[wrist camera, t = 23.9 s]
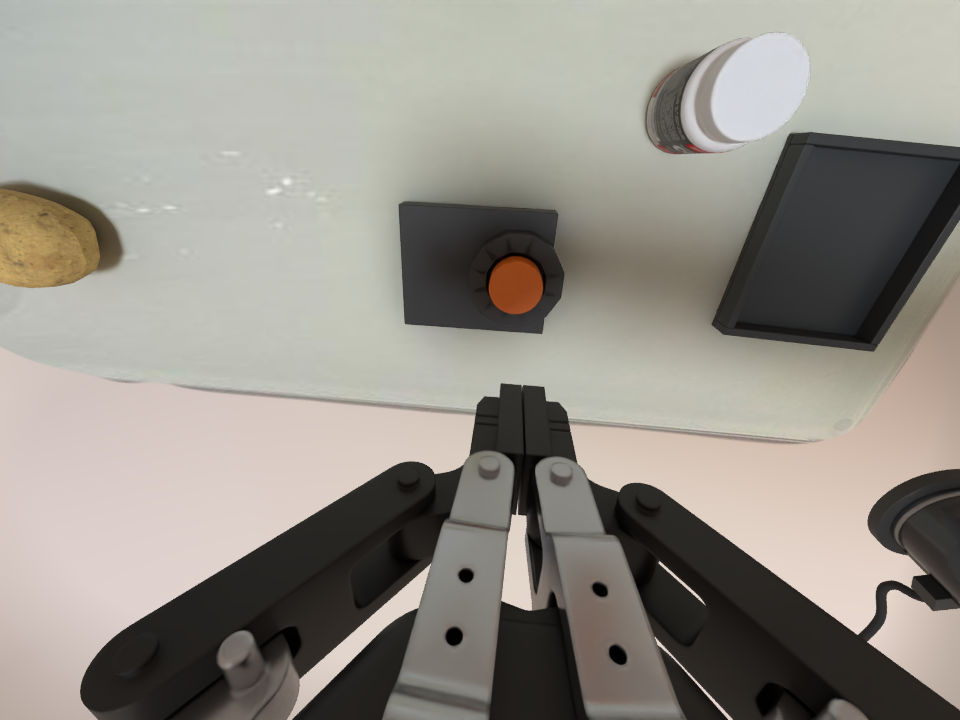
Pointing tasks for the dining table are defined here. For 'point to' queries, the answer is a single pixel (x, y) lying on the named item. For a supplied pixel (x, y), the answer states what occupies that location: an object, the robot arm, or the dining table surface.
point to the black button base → (473, 263)
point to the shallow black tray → (841, 240)
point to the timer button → (515, 285)
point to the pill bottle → (730, 95)
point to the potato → (43, 242)
